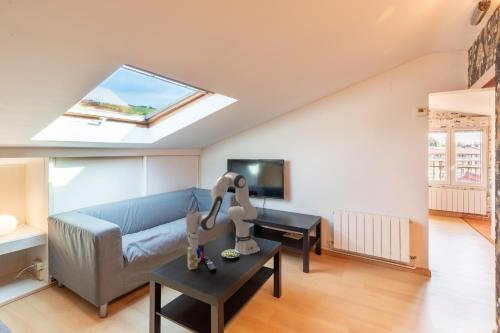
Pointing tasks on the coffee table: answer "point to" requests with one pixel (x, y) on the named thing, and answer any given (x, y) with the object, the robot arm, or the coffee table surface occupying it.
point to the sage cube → (191, 251)
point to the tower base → (192, 265)
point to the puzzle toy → (199, 252)
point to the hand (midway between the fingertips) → (192, 250)
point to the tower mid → (192, 258)
